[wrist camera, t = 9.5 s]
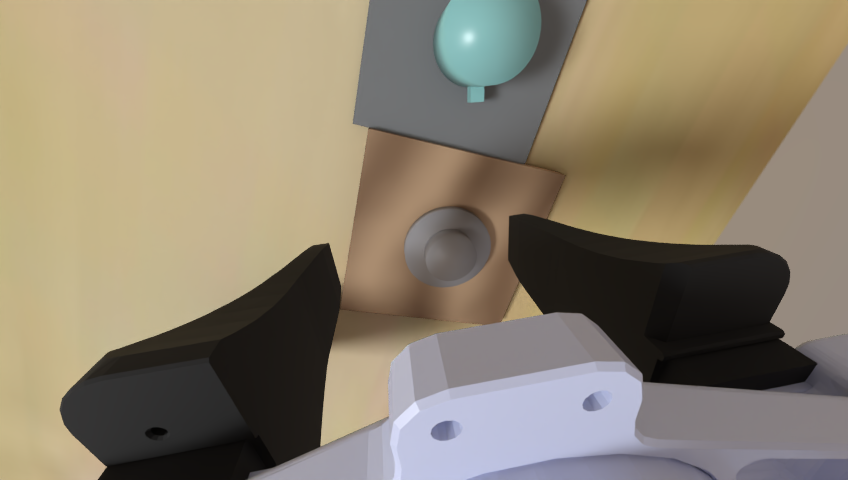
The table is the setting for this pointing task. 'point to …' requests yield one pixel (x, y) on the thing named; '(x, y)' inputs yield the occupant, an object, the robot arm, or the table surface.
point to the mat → (445, 101)
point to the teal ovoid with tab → (485, 42)
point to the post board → (438, 229)
